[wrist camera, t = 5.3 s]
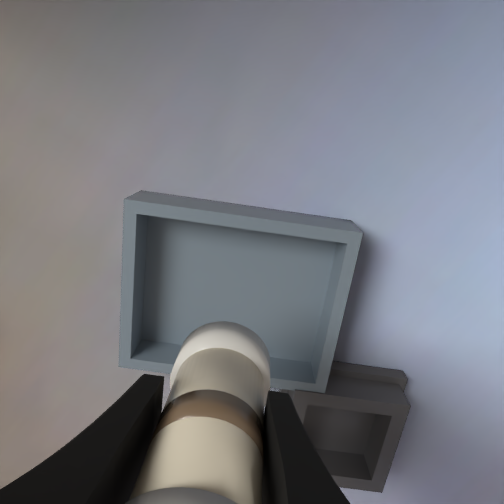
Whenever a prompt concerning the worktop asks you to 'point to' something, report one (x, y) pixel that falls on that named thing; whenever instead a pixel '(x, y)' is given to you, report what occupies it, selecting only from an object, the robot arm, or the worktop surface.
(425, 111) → the worktop surface
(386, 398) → the dark grey square holder
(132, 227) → the parts tray
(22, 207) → the worktop surface
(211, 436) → the banded white capsule
